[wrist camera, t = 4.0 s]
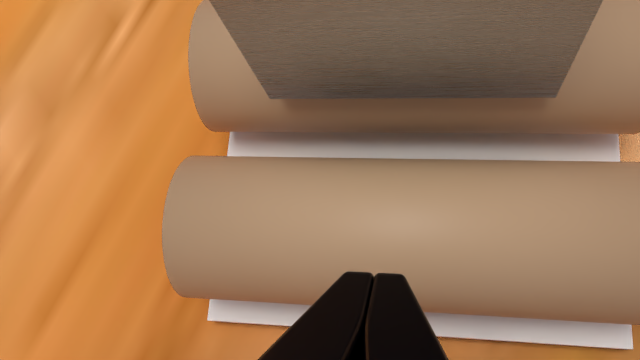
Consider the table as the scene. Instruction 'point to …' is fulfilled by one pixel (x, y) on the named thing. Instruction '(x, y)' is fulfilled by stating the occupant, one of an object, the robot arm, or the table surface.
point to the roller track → (419, 197)
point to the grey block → (408, 46)
